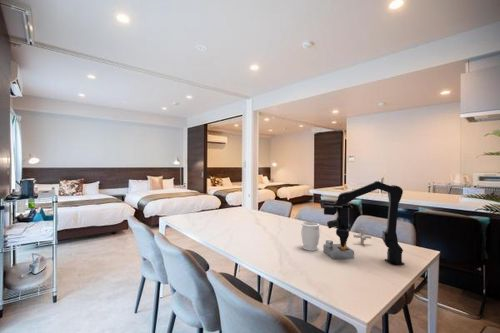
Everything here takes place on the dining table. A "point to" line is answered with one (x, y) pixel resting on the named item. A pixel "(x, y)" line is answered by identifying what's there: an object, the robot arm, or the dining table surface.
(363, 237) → the pipe connector
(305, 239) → the jar
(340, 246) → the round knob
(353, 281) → the dining table surface
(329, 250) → the grey slotted base
